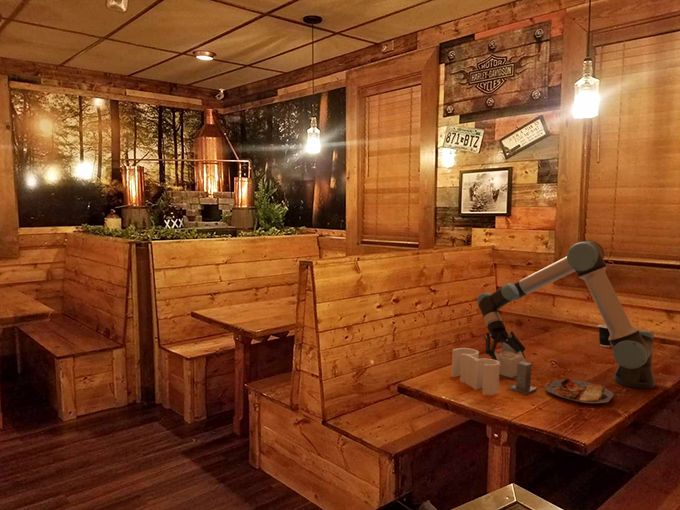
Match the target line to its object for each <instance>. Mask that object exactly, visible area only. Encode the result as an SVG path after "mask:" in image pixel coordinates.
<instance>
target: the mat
mask: <svg viewBox="0 0 680 510" xmlns="http://www.w3.org/2000/svg"><path fill="white" fill-rule="evenodd" d="M516 376H517V375H516ZM516 376H514V377H512V378H511V377H507V376H504V375H500V374H499V377H502V378H506V379H508V380H512V381H513V380H516Z"/></svg>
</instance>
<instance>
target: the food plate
mask: <svg viewBox="0 0 680 510" xmlns="http://www.w3.org/2000/svg"><path fill="white" fill-rule="evenodd" d="M556 387H557V389H559V388H561V389H562V390H563V391H565V392H567V393H566V394H564V395H563V396H562V395H560V393H558V392H557V393H558V394H557V393H556V389H554V388H556ZM545 390H546V391H547V392H548V393H551V394H553V395H556V396H558V397H561V398H564V399H566V400H569V401H573V400H574V402H578V403H581V404H582V403H583V404H588V405H592V404H593V405H594V404H602V403H603V404H604V403H609V402H611V400H612V399H613V397H614V396H615V394H614V392H612V391H611V390H610V389H608V388H606V387H605V386H604V384H602V383H601V384H597V383H592V382H589V381H585V380H580V379H579V380H578V379H577V380H576V379H570V378H569V377H568V378H565V379H557V380H552V381H551V382H549V383H548V384H547V385H546V386H545ZM580 392H581V393H583V394H581V396H580V399H579V398H578V400H577V399H576V398H577V397H576V396H577V393H580ZM575 397H576V398H575ZM574 398H575V399H574Z"/></svg>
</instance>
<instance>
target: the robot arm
mask: <svg viewBox="0 0 680 510" xmlns="http://www.w3.org/2000/svg"><path fill="white" fill-rule="evenodd" d="M566 254H567V255H566V256H565V257H563V258H561V259H559V260H557V261H554V262H553V263H551V264H549V265H547V266H545V267H542V268H541V269H539V270H537V271H536V272H532V274H529V275H528V276H526V277H524V278H522V279H519V280H517V281H516V282H513V283H511V282H509V283H506V284H505V285H503V286H501V287H499V289H496V291H494V292H493V293H490V292H483V293H481V294H479V295H478V296H477V298H476V302H477V305H478V308H479V310H480V313H481V315H482V317H483V321H484V323H485V325H486V327H487V330H488V332H486V333H485V334H484V339H485V353H484V354H485V355H488V356H490V357H491V359H493V360H497V361H499V362H500V360H499V358H498V352H495V351H496V348H497V346H498V344H500V343H501V344H503V343H506V344H508V345H509V346H510V347H511V348H513V349H514V350H515V351H516V352H517V355H521V356H522V359H521V361H523V362H527V361H526V360H525V358H526V357H525V353H524V351H526V346H524V345H523V344H522V342H521V341H520V340H519V339H518V338H517V336H516V335H515V333H514V332H513V331H510V332H508V331H507V330H506V325H505V324H504V321H503V319H502V316H501V314H500V311H499V309H501V308H502V307H504V306H506V305H507V304H509V303H512V302H514V301H517V300H520V299H522V298H523V297H525V296H528V295H529V294H531V293H534V292H536V291H537V290H540V289H542V288H543V287H547V286H548V285H550V284H552V283H554V282H556V281H558V280H560V279H563V278H565V277H566V276H569V275H571V274H572V273H575V272H576V275H577V277H578V278H579V279H581V280H583V281H584V282H585V285H586V287H587V289H588V291H589V293H590V295H591V297H592V299H593V301H594V303H595V305H596V308H597V309H598V312H599V313H600V316H601V319H603V322H604V325H606V326H607V328H608V330H609V332H610V336H609V341H610V344H611V345H610V347H611V348H612V356H613V359H614V360H615V362H616V363H617V364H618V367H617V368H616V370H615V372H614V377H613V381H614V382H615V383H617V384H619V385H622V386H625V387H630V388H634V389H644V390H645V389H647V390H649V389H652V388H655V386H656V385H655V384H656V383H655V382H656V380H655V376H654V372H653V370H652V369H653V368H652V362H653V352H654V351H653V349H654V340H655V338H654V337H655V335H654V333H653V332H652V331H648V330H644V329H638V328H637V327H634V326H632V324H631V321H630V320H629V317H628V315H627V314H626V312H625V310H624V307H623V306H622V305H623V304H622V303H621V301H620V299H619V297H618V294H617V293H616V291H615V289H614V287H613V285H612V283H611V282H610V280H609V277H608V275H607V273H606V270H607V269H608V266H607V264H606V262H605V260H604V258H605V250H604V248H603V246H602V245H601V244H600V243H599V242H597V241H594V240H585V241H579V242H576V243H574V244H572V246H571V247H570V248H569V249H568V251H567V253H566ZM491 339H492V340H493V341H492V345H491ZM506 340H507V341H506ZM523 353H524V354H523ZM501 366H502V365H501V363H500V367H501ZM499 369H500V368H499Z"/></svg>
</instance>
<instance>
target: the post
mask: <svg viewBox="0 0 680 510" xmlns="http://www.w3.org/2000/svg"><path fill="white" fill-rule="evenodd" d="M531 377H532V363H531V362H527V361H526V362H523V361H521V362H519V363H517V376H516V379H515V380H516V381H515V384H513V385H512V384H511V385H509V386H508V390H509V391H513V392H516V393H519V392H520V394H522V393H524V394H523V395H526V394H528V395H530V394H532V393H534V391H535V392H537V391H538V387H535V386H532V385H531V379H532V378H531ZM536 390H537V391H536Z"/></svg>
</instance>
